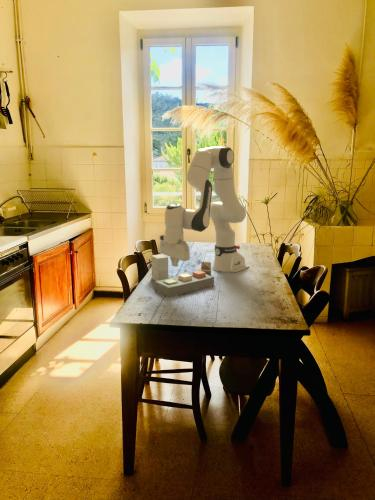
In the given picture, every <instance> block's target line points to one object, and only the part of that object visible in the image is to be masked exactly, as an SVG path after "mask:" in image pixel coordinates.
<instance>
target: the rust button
mask: <svg viewBox="0 0 375 500" xmlns="http://www.w3.org/2000/svg"><path fill="white" fill-rule="evenodd" d="M192 273H193V276H194V277H196V278H202V277H206V272H203V271H201V270H196V271H192Z"/></svg>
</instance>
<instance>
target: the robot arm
mask: <svg viewBox="0 0 375 500" xmlns="http://www.w3.org/2000/svg"><path fill="white" fill-rule="evenodd" d="M234 153H235V152H234V151H233V149H232V148H231V147H230V146H226V145H225V146H218V145H217V146H215V145H214V146H210V147H200V148H198V149H196V151H195V153H194V155H193V157H192V159H191V161H190V165H189V167H188V170H187V173H186V180H187V182H188V184H189V185H190V186H191V187H192V188H193V189H195V190H197V191H199V192H200V198H199V199H200V200H199V207H198V208H197V209H187V208H184V207H183V205H182V204H180V203H170V204H168V205H167V206H166V208H165V211H164V226H165V229H164V234H161V235H159V240H160V242H159V250H160V253H161V254H162V255H164V256H167V257H168V256H169V260H170V262H171V266H173V267H175V268H176V267H178V266H179V262H180V261H182V262H186V261H187V262H188V261H190V258H191V257H190V255H191V254H190V247H189V245H188V243H187V241H185V240H184V237H185V236H184V235H185V232H184V229H185V230H191V231H195V232H199V233H200V232H201V233H202V232H204V231H205V230H206V229H207V228H209V226H210V220H211V221H212V225H213V227H214V231H215V244H214V260H213V265H212V266H211V270H214V271H216V272H223V273H237V272H240V271H243V270H245V269H248V268H250V266H249V264H247V263H246V259H245V256H243V255H242V254H241V253H240V252H238V250H239V249H241V245H238V244H236V243H235V242H236V233H235V230H234V229H233V228H232V227H231V224H237V223H238V224H239V223H242V222H244V221H245V219H246V216H247V210H246V208H245V207H244V205H242V204H241V202H240V200H239V198H238V195H237V193H236V190H235V189H236V188H235V177H234V176H235V175H234V169H233V163H234V161H235V160H234V159H235V154H234ZM212 169H213V184H212V182H211V181H210V177H211V176H210V175H211V171H212ZM213 187H214V188H213ZM213 189H214V194H216V196H217V197H218V198H219V199H220V201H213V202H212V193H213ZM230 223H231V224H230ZM235 244H236V245H235ZM237 249H238V250H237Z"/></svg>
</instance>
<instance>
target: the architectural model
mask: <svg viewBox="0 0 375 500" xmlns="http://www.w3.org/2000/svg"><path fill="white" fill-rule="evenodd" d="M199 270H200V271H203V272H206V274H207V275H210V276H212V262H211V261H201V263H200V267H198V269H197V271H199Z"/></svg>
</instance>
